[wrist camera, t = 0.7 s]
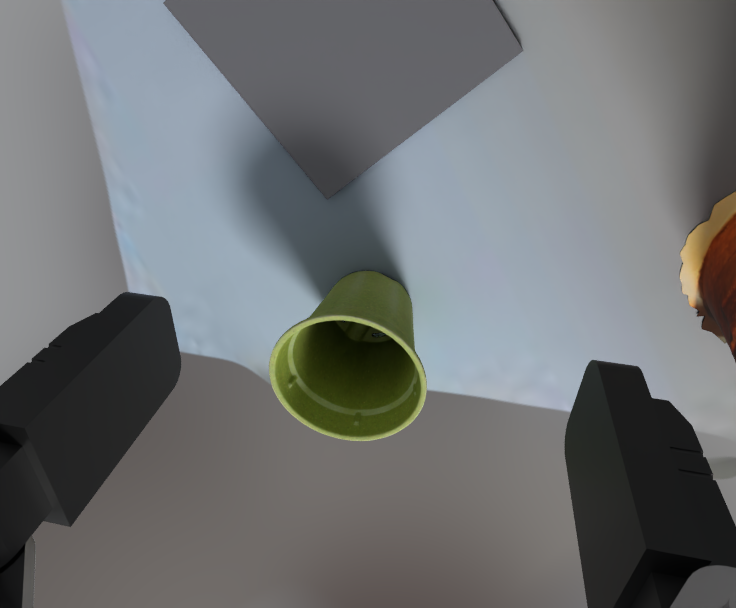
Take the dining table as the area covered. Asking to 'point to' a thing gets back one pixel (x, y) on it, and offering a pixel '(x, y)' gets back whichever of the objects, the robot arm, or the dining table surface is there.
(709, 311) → the vessel
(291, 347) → the plant pot
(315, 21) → the mat
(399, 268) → the dining table surface
